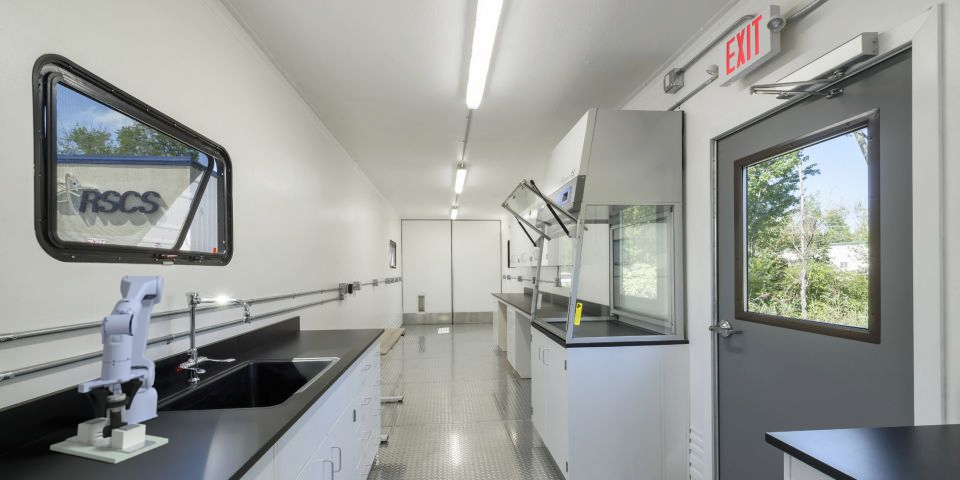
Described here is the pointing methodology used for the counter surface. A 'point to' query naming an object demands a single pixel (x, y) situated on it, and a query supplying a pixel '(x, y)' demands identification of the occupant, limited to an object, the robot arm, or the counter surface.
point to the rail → (107, 444)
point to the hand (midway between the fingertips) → (112, 413)
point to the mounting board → (104, 450)
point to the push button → (114, 414)
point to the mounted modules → (120, 436)
